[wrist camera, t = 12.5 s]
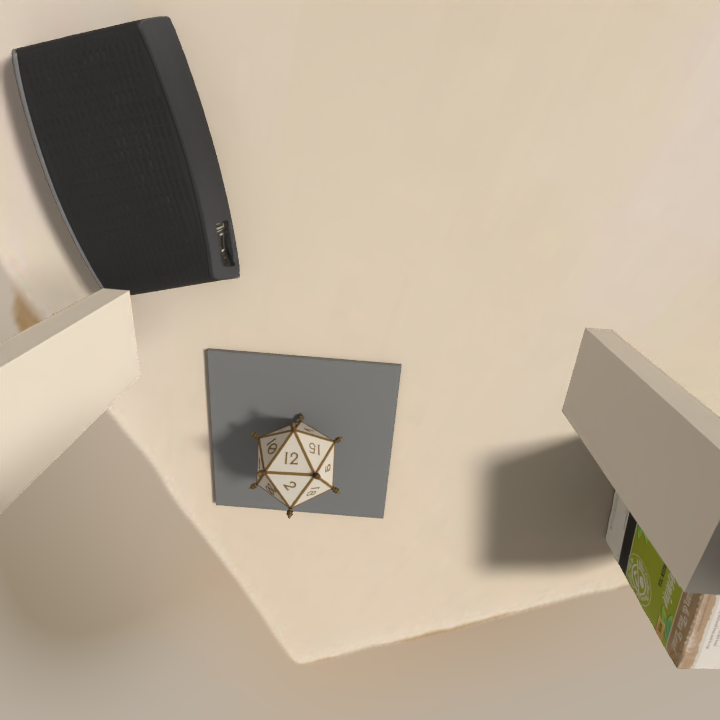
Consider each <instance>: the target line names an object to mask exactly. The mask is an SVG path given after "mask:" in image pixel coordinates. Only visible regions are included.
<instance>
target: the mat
mask: <svg viewBox="0 0 720 720" xmlns="http://www.w3.org/2000/svg"><path fill="white" fill-rule="evenodd" d="M207 356H208V374H209V391H210V409H211V426H212V444H213V461H214V479H215V496H216V505H224V506H236V507H248V508H261V509H273V510H285V511H288V507H286V506H285V505H284V504H282V503H281V502H280V501H278V500H277V499H276V498H274V497H273V496H272V495H270V494H269V493H268V492H266V491H265V490H263V489H262V488H261V487H259V486H257V487H256V488H255V489H249V487H250V486H251V484H253V483H256V480H257V454H258V439H255V438H254V437H253V436H252V434H251V432H255V433H257V434H258V435H259V436H263V435H265V434H268V433H270V432H273V431H275V430H278V429H280V428H283V427H286V426H288V425H291V424H292V423H293V422H294V423H296V422H298V421H299V419H298V418H299V417H298V416H299V415H300V414H301V413H302V414H303V416H304V418H303V419H304V420H303V421H302V422H304V423H306V424H307V425H309V426H310V427H312V428H314V429H315V430H317V431H319V432H320V433H322V434H324V435H325V436H327V437H329V438H330V439H332V440H335V439H336V438H337V437H343V438H342V440H341V442H339V443H335V458H334V481H333V486H334V487H337V488H339V491H340V493H341V494H338V493H336V494H335V493H334V492H333V491H332V490H329V491H327V492H325V493H323V494H321V495H319V496H317V497H315V498H313V499H311V500H309V501H307V502H304V503H302V504H300V505H298V506H296V507H294V508H292V511H297V512H310V513H322V514H334V515H346V516H358V517H371V518H383V516H384V507H385V499H386V491H387V482H388V474H389V465H390V457H391V449H392V440H393V432H394V424H395V415H396V407H397V398H398V390H399V382H400V373H401V364H393V363H380V362H368V361H356V360H344V359H331V358H319V357H307V356H295V355H282V354H270V353H258V352H246V351H233V350H221V349H208V350H207Z"/></svg>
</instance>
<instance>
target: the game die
mask: <svg viewBox="0 0 720 720" xmlns="http://www.w3.org/2000/svg"><path fill="white" fill-rule="evenodd" d="M298 417H299V418H298V419H299V421H298V422H296V423H294V422H293V423H292V424H291V425H288V426H286V427H283V428H280V429H278V430H275V431H273V432H270V433H268V434H265V435H263V436H259V435H258V434H257V433H255V432H251V434H252V436H253V437H254V438H255V439H258V454H257V480H256V483H253V484H251V486H250V487H249V489H255V488H256V487H257V486H259V487H261V488H262V489H263V490H265V491H266V492H268V493H269V494H270V495H272V496H273V497H274V498H276V499H277V500H278V501H280V502H281V503H282V504H284V505H285V506H286V507H288V511H287V515H288V518H289V519H290V517H291V516H292V515H293V514H292V512H293V511H292V508H294V507H296V506H298V505H300V504H302V503H304V502H307V501H309V500H311V499H313V498H315V497H317V496H319V495H321V494H323V493H325V492H327V491H329V490H332V491H333V492H334V493H335V494H336V493H338V494H341V493H340V491H339V488H337V487H334V486H333V481H334V458H335V443H339V442H341V440H342V438H343V437H337V438H336V439H335V440H332V439H330V438H329V437H327V436H325V435H324V434H322V433H320V432H319V431H317V430H315V429H314V428H312V427H310V426H309V425H307V424H306V423H304V422H302V421H303V420H304V419H303V418H304V416H303V414H302V413H301V414H300V415H299V416H298Z"/></svg>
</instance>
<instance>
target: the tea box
mask: <svg viewBox="0 0 720 720" xmlns="http://www.w3.org/2000/svg"><path fill="white" fill-rule="evenodd" d="M606 542H607V544H608V545H609V547H610V549H611V551H612V553H613V555H614V557H615V559H616V560H617V562H618V564H619V565H620V567H621V569H622V571H623V573H624V575H625V576H626V578H627V580H628V582H629V584H630V586H631V588H632V589H633V590H634V592H635V594H636V596H637V598H638V600H639V602H640V604H641V606H642V608H643V609H644V611H645V613H646V615H647V616H648V618H649V619H650V621H651V623H652V625H653V627H654V629H655V631H656V633H657V635H658V636H659V638H660V640H661V642H662V644H663V646H664V647H665V649H666V651H667V652H668V654H669V656H670V657H671V659H672V661H673V662H674V664H675V666H676V667H677V668H679V669H720V595H712V594H700V593H688V592H684V591H683V590H682V588H681V587H680V585H679V584H678V582H677V581H676V579H675V578H674V576H673V575H672V573H671V572H670V570H669V569H668V567H667V566H666V564H665V563H664V561H663V560H662V559H661V557H660V556H659V554H658V553H657V551H656V550H655V548H654V547H653V545H652V544H651V542H650V541H649V539H648V538H647V536H646V535H645V533H644V532H643V530H642V529H641V527H640V526H639V524H638V523H637V521H636V520H635V519H634V517H633V516H632V514H631V513H630V511H629V510H628V508H627V507H626V505H625V504H624V502H623V501H622V499H621V498H620V496H619V495H618V493H617V492H616V491H615V494H614V499H613V506H612V511H611V515H610V518H609V523H608V530H607V535H606Z"/></svg>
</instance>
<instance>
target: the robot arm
mask: <svg viewBox="0 0 720 720" xmlns="http://www.w3.org/2000/svg"><path fill="white" fill-rule="evenodd" d="M139 377H140V370H139V362H138V354H137V346H136V339H135V331H134V323H133V315H132V307H131V299H130V291H129V290H116V289H104V288H103V289H101V290H99V291H97V292H95V293H93V294H91V295H90V296H88V297H86V298H84V299H82V300H80V301H78V302H76V303H74V304H73V305H71V306H69V307H67V308H65V309H63V310H61V311H59V312H58V313H56V314H54V315H52V316H50V317H48V318H46V319H44V320H43V321H41V322H39V323H37V324H35V325H33V326H31V327H29V328H27V329H26V330H24V331H22V332H20V333H18V334H16V335H14V336H13V337H11V338H9V339H7V340H5V341H3V342H1V343H0V514H1V513H2V512H3V511H4V510H5V509H6V508H7V507H8V506H9V505H10V504H11V503H12V502H13V501H14V500H15V499H16V498H17V497H18V496H19V495H20V494H21V493H22V492H23V491H24V490H25V489H26V488H27V487H28V486H29V485H30V484H31V483H32V482H33V481H34V480H35V479H36V478H37V477H38V476H39V475H40V474H41V473H42V472H43V471H44V470H45V469H46V468H47V467H48V466H49V465H50V464H51V463H53V462H54V461H55V460H56V459H57V458H58V457H59V456H60V455H61V454H62V453H63V452H64V451H65V450H66V449H67V448H68V447H69V446H70V445H71V444H72V443H73V442H74V441H75V440H76V439H77V438H78V437H79V436H80V435H81V434H82V433H83V432H84V431H85V430H86V429H87V428H88V427H89V426H90V425H91V424H92V423H93V422H94V421H95V420H96V419H97V418H98V417H99V416H100V415H101V414H102V413H103V412H105V411H106V410H107V409H108V408H109V407H110V406H111V405H112V404H113V403H114V402H115V401H116V400H117V399H118V398H119V397H120V396H121V395H122V394H123V393H124V392H125V391H126V390H127V389H128V388H129V387H130V386H131V385H132V384H133V383H134V382H135V381H136V380H137V379H138V378H139ZM562 412H563V413H564V415H565V416H566V418H567V419H568V421H569V422H570V424H571V425H572V427H573V428H574V430H575V431H576V433H577V434H578V436H579V437H580V439H581V440H582V442H583V443H584V445H585V446H586V447H587V449H588V450H589V452H590V453H591V455H592V456H593V458H594V459H595V461H596V462H597V464H598V465H599V467H600V468H601V470H602V471H603V473H604V474H605V476H606V477H607V479H608V480H609V482H610V483H611V484H612V486H613V487H614V489H615V490H616V492H617V493H618V495H619V496H620V498H621V499H622V501H623V502H624V504H625V505H626V507H627V508H628V510H629V511H630V513H631V514H632V516H633V517H634V519H635V520H636V521H637V523H638V524H639V526H640V527H641V529H642V530H643V532H644V533H645V535H646V536H647V538H648V539H649V541H650V542H651V544H652V545H653V547H654V548H655V550H656V551H657V553H658V554H659V556H660V557H661V559H662V560H663V561H664V563H665V564H666V566H667V567H668V569H669V570H670V572H671V573H672V575H673V576H674V578H675V579H676V581H677V582H678V584H679V585H680V587H681V588H682V590H683V591H684V592H688V593H700V594H712V595H720V417H719V416H717V415H716V414H715V413H714V412H713V411H711V410H710V409H709V408H708V407H706V406H705V405H704V404H703V403H701V402H700V401H699V400H698V399H697V398H695V397H694V396H693V395H692V394H690V393H689V392H688V391H687V390H685V389H684V388H683V387H682V386H681V385H679V384H678V383H677V382H676V381H674V380H673V379H672V378H671V377H669V376H668V375H667V374H666V373H665V372H663V371H662V370H661V369H660V368H658V367H657V366H656V365H655V364H653V363H652V362H651V361H650V360H649V359H647V358H646V357H645V356H644V355H642V354H641V353H640V352H639V351H637V350H636V349H635V348H634V347H632V346H631V345H630V344H629V343H628V342H626V341H625V340H624V339H623V338H621V337H620V336H619V335H618V334H616V333H615V332H614V331H613V330H607V329H595V328H585V331H584V334H583V338H582V341H581V345H580V349H579V352H578V356H577V359H576V363H575V366H574V370H573V373H572V377H571V380H570V384H569V388H568V391H567V395H566V398H565V402H564V405H563V409H562Z"/></svg>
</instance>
